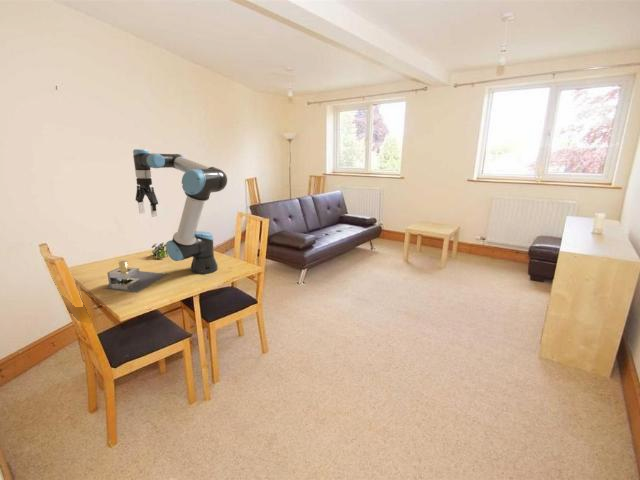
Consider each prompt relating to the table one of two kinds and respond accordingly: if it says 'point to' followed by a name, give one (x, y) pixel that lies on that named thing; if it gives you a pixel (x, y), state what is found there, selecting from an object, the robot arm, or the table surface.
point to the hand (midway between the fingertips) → (148, 214)
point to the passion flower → (157, 251)
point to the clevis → (117, 276)
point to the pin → (124, 270)
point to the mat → (143, 280)
